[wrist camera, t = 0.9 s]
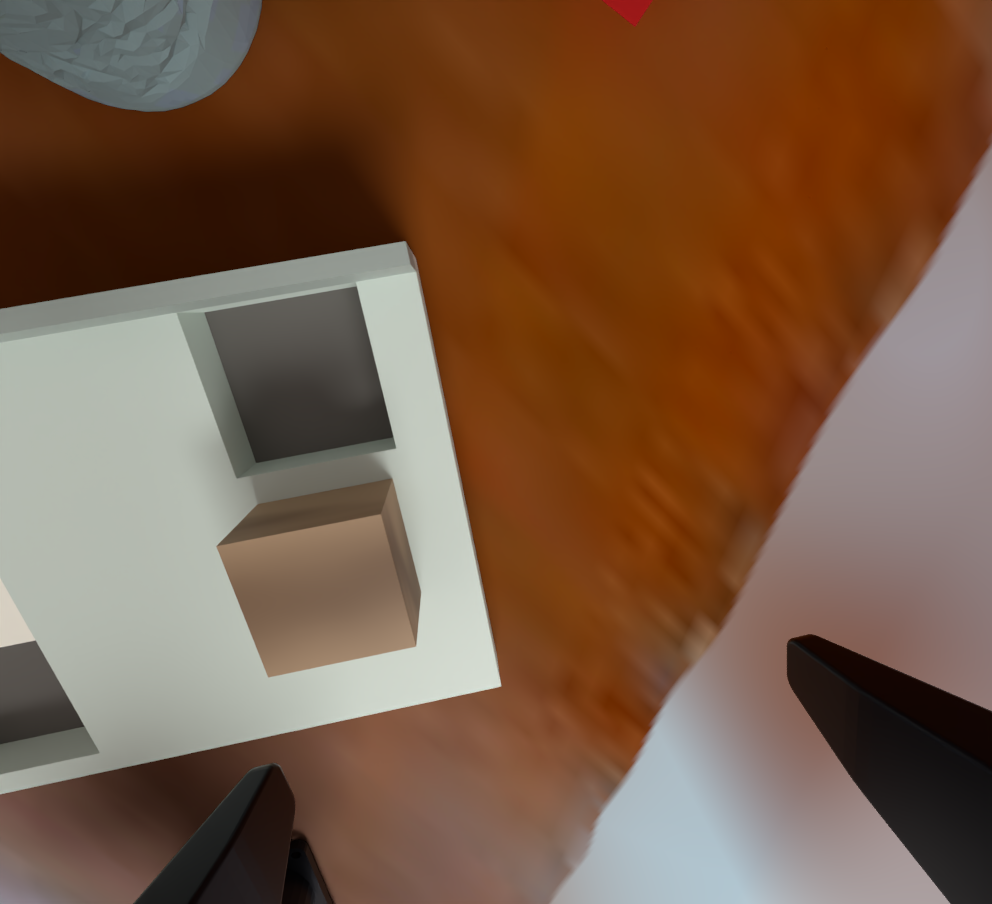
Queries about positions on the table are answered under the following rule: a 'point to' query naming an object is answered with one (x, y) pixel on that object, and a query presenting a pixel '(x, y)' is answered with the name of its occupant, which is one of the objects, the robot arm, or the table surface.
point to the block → (325, 577)
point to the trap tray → (212, 505)
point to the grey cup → (131, 46)
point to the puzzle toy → (629, 8)
